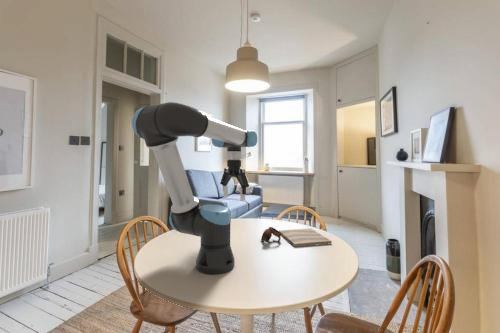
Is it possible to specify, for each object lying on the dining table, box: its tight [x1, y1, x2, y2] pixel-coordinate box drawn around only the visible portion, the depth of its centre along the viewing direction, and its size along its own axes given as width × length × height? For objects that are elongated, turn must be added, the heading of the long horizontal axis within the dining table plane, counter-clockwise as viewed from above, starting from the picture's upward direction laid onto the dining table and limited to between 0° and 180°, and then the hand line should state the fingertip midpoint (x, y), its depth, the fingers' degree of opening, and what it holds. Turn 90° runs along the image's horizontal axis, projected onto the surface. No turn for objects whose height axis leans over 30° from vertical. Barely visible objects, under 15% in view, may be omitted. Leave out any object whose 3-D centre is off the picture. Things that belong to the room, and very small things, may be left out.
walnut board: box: [278, 228, 332, 248], centre depth 128 cm, size 22×20×2 cm
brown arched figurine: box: [260, 226, 281, 244], centre depth 122 cm, size 12×10×8 cm
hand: (233, 199), depth 128 cm, fingers open, 13 cm apart
